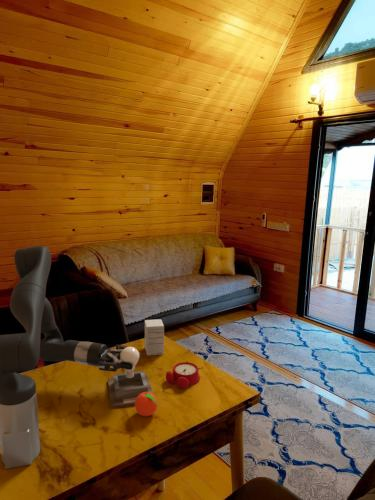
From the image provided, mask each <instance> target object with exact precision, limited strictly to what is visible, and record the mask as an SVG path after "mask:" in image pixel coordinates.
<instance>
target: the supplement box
mask: <svg viewBox="0 0 375 500" xmlns="http://www.w3.org/2000/svg"><path fill="white" fill-rule="evenodd" d="M144 348H145V349H144V350H145V353H146V354H145V355H146V356H157V355H158V356H159V355H164V354H165V325H164V323H163V320H162V319H145V320H144Z"/></svg>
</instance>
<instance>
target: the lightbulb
mask: <svg viewBox="0 0 375 500" xmlns="http://www.w3.org/2000/svg"><path fill="white" fill-rule="evenodd" d="M139 353H140V352H139V350H138V349H137V348H136V347H134V346H126V348H125V349H123V350H122V352H121V353H120V361H121V362H122V361H125V362H131V363H133V368H132V370H129V369H124V370H125V373H126V377H127V378H133V377H134V372H135V368H136V366H137V364H138V363H139Z"/></svg>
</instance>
